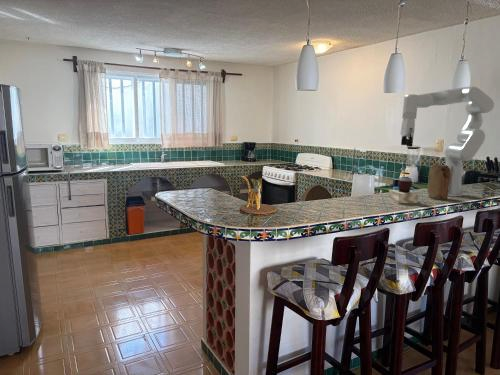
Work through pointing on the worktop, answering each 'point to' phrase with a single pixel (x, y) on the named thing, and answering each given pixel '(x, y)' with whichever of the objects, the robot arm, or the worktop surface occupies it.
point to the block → (439, 182)
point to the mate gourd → (405, 183)
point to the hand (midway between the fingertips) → (406, 145)
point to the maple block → (402, 196)
